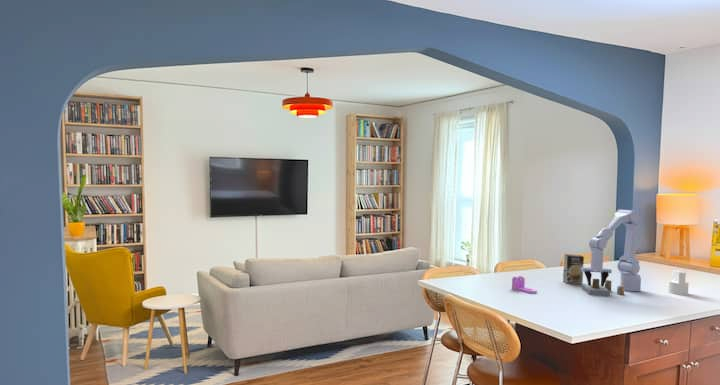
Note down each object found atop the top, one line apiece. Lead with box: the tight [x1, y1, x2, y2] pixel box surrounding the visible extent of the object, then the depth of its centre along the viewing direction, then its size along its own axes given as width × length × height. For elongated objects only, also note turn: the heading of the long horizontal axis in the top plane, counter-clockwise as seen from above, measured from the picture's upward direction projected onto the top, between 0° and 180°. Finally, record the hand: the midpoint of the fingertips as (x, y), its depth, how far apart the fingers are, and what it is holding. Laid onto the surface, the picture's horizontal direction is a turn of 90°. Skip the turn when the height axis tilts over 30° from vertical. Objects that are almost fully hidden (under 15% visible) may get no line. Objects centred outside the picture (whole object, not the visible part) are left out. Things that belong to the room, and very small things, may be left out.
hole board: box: [581, 283, 611, 297], centre depth 259 cm, size 10×14×2 cm
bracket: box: [511, 275, 538, 295], centre depth 258 cm, size 13×6×7 cm, turn 33°
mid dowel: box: [604, 279, 612, 292], centre depth 264 cm, size 3×3×6 cm
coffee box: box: [562, 253, 585, 285], centre depth 282 cm, size 9×6×16 cm
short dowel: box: [616, 285, 625, 296], centre depth 256 cm, size 3×3×4 cm
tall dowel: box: [591, 277, 600, 289], centre depth 259 cm, size 3×3×7 cm
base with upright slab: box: [667, 269, 689, 296], centre depth 262 cm, size 9×9×12 cm
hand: (595, 285), depth 259 cm, fingers open, 6 cm apart
